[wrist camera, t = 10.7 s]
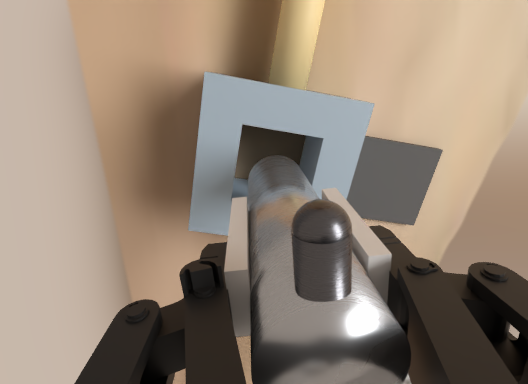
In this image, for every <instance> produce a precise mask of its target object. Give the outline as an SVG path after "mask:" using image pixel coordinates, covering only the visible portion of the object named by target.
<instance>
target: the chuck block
mask: <svg viewBox="0 0 528 384" xmlns="http://www.w3.org/2000/svg"><path fill="white" fill-rule="evenodd" d="M324 3H325V0H282V5H281V11H280V16H279V22H278V28H277V34H276V40H275V45H274V51H273V57H272V63H271V69H270V75H269V80H268V83H266V82H261V81H255V80H250V79H245V78H240V77H234V76H229V75H224V74H218V73H213V72H204V82H203V92H202V101H201V111H200V121H199V131H198V140H197V150H196V160H195V169H194V179H193V189H192V198H191V208H190V218H189V228H188V230H189V231H197V232H204V233H212V234H220V235H227V236H228V232H229V223H230V214H231V205H232V198H239V197H247V203H248V180H247V179H240V178H234V177H235V170H236V163H237V157H238V150H239V143H240V137H241V130H242V124H243V125H249V126H255V127H261V128H266V129H272V130H278V131H284V132H290V133H296V134H301V135H306V138H305V143H304V147H303V152H302V156H301V160H300V165H299V167H300V168H301V170H302V172H303V173H304V175H305V176H306V178H307V179H308V181H309V183H310V184H311V186H312V187H313V189H314V191H315V192H316V194H317V195H318V197H319V198H320V199H322V189H328V188H337V190H338V191H339V192H340V193H341V194H342V196H343V197H344V198H345V199H346V200H347V196H348V193H349V189H350V186H351V183H352V179H353V176H354V172H355V169H356V166H357V162H358V159H359V155H360V152H361V148H362V145H363V142H364V138H365V135H366V131H367V128H368V124H369V121H370V118H371V114H372V111H373V107H374V103H369V102H364V101H360V100H355V99H351V98H346V97H340V96H335V95H330V94H324V93H319V92H314V91H308V90H306V87H307V83H308V78H309V73H310V69H311V64H312V59H313V55H314V50H315V45H316V41H317V36H318V31H319V27H320V22H321V17H322V13H323V8H324Z"/></svg>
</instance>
